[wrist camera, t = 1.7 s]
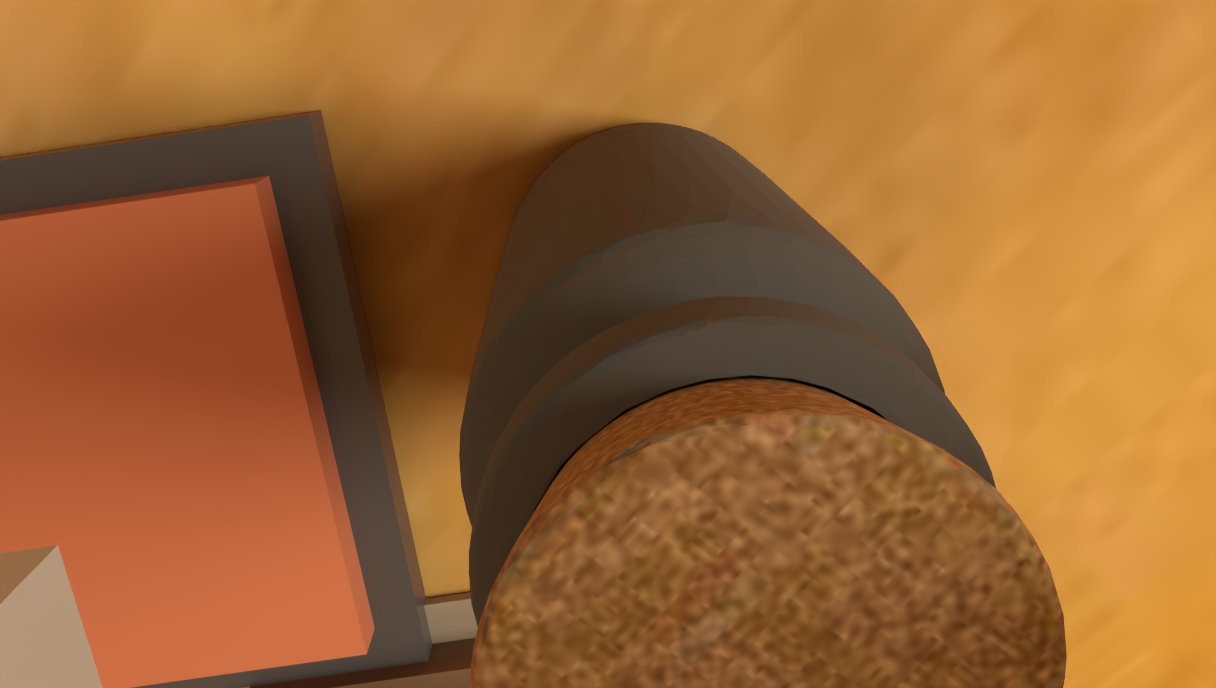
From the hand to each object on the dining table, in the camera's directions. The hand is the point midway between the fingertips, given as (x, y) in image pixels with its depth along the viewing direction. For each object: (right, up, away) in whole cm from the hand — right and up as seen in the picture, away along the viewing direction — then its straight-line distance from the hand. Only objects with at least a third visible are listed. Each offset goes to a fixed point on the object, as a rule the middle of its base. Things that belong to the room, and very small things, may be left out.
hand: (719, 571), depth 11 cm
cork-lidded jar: (0, +4, +12) cm, 13 cm away
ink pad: (-12, 0, +12) cm, 17 cm away
